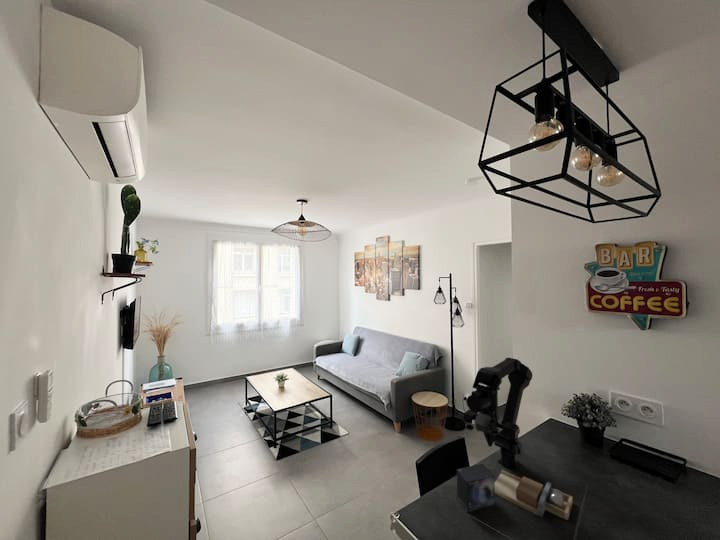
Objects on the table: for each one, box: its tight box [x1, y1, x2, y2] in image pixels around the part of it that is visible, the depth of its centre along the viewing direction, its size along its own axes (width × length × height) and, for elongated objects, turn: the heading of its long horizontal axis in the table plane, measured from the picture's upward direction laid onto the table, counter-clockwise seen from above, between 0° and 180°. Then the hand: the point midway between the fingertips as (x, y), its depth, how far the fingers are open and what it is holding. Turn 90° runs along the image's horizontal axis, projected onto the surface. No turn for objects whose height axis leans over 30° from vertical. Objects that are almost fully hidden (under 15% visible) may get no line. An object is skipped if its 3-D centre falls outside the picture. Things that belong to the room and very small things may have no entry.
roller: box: [548, 488, 564, 509], centre depth 95 cm, size 4×5×4 cm
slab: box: [516, 476, 544, 509], centre depth 98 cm, size 8×6×4 cm
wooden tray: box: [495, 469, 574, 521], centre depth 98 cm, size 13×22×4 cm, turn 46°
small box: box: [456, 463, 496, 514], centre depth 97 cm, size 11×6×10 cm, turn 105°
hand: (490, 446), depth 108 cm, fingers closed
